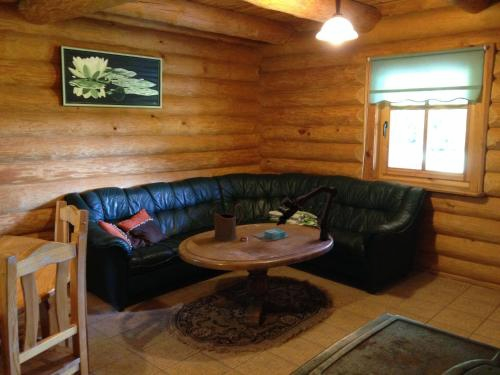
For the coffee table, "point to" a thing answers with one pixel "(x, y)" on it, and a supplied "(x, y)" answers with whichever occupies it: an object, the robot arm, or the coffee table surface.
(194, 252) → the coffee table surface
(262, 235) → the slate rubber mat
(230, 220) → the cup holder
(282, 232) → the data package
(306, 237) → the coffee table surface
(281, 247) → the coffee table surface
